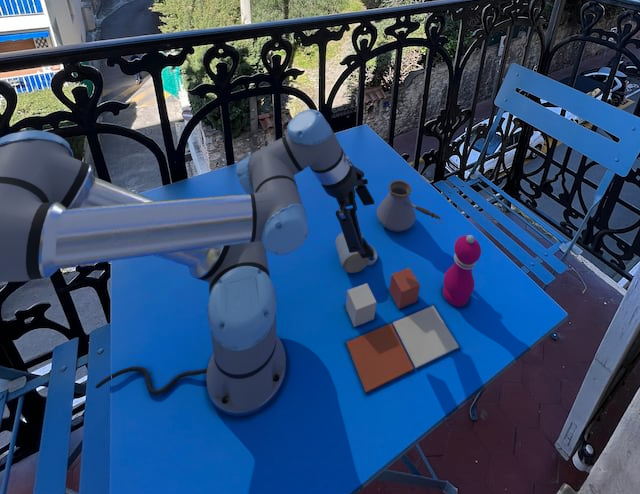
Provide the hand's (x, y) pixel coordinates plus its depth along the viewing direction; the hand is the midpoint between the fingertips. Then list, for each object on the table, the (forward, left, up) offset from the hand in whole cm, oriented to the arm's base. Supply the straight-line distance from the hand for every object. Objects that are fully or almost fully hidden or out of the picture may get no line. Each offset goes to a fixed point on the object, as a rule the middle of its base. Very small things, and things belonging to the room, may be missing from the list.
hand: (368, 228), depth 95 cm
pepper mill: (+19, -13, -17) cm, 29 cm away
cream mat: (+7, -19, -16) cm, 26 cm away
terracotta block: (+7, -9, -16) cm, 20 cm away
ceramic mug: (0, +5, -17) cm, 17 cm away
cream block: (-5, -8, -16) cm, 19 cm away
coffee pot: (+17, +8, -17) cm, 25 cm away
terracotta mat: (-5, -18, -16) cm, 25 cm away
